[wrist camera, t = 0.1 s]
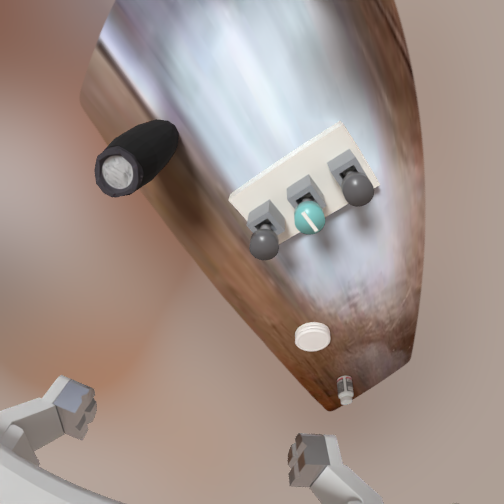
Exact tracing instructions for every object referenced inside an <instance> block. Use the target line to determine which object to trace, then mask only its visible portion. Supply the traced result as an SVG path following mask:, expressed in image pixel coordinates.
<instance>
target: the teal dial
mask: <svg viewBox="0 0 504 504" xmlns="http://www.w3.org/2000/svg"><path fill="white" fill-rule="evenodd" d="M294 221H295V226H296V228H297V229H298V230H299V231H300V232H301V233H304V234H315V233H317V232H319V231H320V230H321V229H322V228H323V227H324V224H325V217H324V213H323V209H322V207H321V206H320V205H319V204H318V203H316V202H314V201H312V200H311V199H309V198H305V199H303V200H302V202H301V203H300V204H299V205H298V206H297V207H296V209H295V211H294Z"/></svg>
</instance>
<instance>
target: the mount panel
mask: <svg viewBox="0 0 504 504" xmlns="http://www.w3.org/2000/svg"><path fill="white" fill-rule="evenodd" d="M349 171H353V172H361V173H363V174H365V175H366V176H367V177H368V179H369V180H370V182H371V183H372V185H373V187H374V188H376V187H377V186H379V185H380V183H379V182H378V180H377V178H376V176H375V175H374V173H373V171H372V169H371V168H370V166H369V164H368V163H367V161H366V159H365V158H364V156H363V154H362V153H361V151H360V149H359V148H358V146H357V145H356V143H355V141H354V140H353V138H352V137H351V135H350V134H349V132H348V131H347V129H346V127H345V126H344V124H343V123H342V122H341V121H339V122H337V123H336V124H334V125H332V126H331V127H329V128H328V129H326V130H325V131H323V132H321V133H320V134H318V135H317V136H315V137H314V138H312V139H310V140H309V141H307V142H306V143H304V144H303V145H301V146H300V147H298V148H297V149H295V150H294V151H292V152H291V153H289V154H288V155H286V156H285V157H283V158H282V159H280V160H279V161H277V162H276V163H274V164H273V165H271V166H270V167H268V168H267V169H265V170H264V171H262V172H261V173H260V174H258V175H257V176H255V177H254V178H252V179H251V180H249V181H248V182H247V183H245V184H244V185H242V186H241V187H239V188H238V189H237V190H235V191H234V192H232V193H231V194H230V197H229V201H230V202H231V203H232V205H233V206H234V207H235V208H236V209H237V210H238V211H239V212H240V214H241V215H242V216H243V217H244V218H245V219H246V220H247V226H248V228H249V229H250V230H251V231H252V232H253V233H254V232H255V231H257V230H259V229H260V227H261V226H262V225H263V224H268V225H270V226H271V230H272V231H274V232H275V233H276V234H277V236H278V239H279V244H281V243H282V242H284V241H286V240H287V239H289V238H291V237H293V236H294V235H296V234H298V233H299V232H300V231H299V230H298V229H297V228H296V226H295V221H294V211H295V209H296V207H297V206H298V205H299V204H300V203H301V202H302V200H303V199H305V198H309V199H311V200H312V201H314V202H316V203H318V204H319V205H320V206H321V207H322V209H323V213H324V217H327V216H328V215H330V214H332V213H333V212H335V211H337V210H339V209H340V208H342V207H344V206H345V205H347V204H349V203H348V202H347V201H346V200H345V197H344V195H343V193H342V190H341V183H342V180H343V179H344V177H345V175H346V173H347V172H349Z"/></svg>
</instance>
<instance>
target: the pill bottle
mask: <svg viewBox="0 0 504 504" xmlns="http://www.w3.org/2000/svg"><path fill="white" fill-rule="evenodd" d="M337 387H338V397H339V398H340V399H341V404H343V405H348V404H350V403H351V402H352V397H353V395H354V393H353V385H352V378H351V377H350V376H341V377H339V378H338V379H337Z"/></svg>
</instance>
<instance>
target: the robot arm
mask: <svg viewBox="0 0 504 504" xmlns="http://www.w3.org/2000/svg"><path fill="white" fill-rule="evenodd" d="M94 396H95V391H94V389H93V388H91V387H88V386H86V385H84V384H81V383H79V382H77V381H74V380H72V379H70V378H67V377H65V376H62V375H61V376H59V377H58V378H57V379H56V381H55V382H54V383H53V385H52V386H51V387H50V388H49V390H48V391H47V393H46V394H45V395H44V397H43V398H42V399H41V398H36V399H34V400H31V401H28V402H25V403H22V404H19V405H16V406H13V407H10V408H7V409H4V410H2V411H0V504H125V503H122V502H119V501H116V500H113V499H110V498H108V497H105V496H102V495H100V494H97V493H94V492H92V491H90V490H87V489H84V488H82V487H80V486H78V485H75V484H73V483H71V482H69V481H67V480H64V479H62V478H60V477H58V476H56V475H54V474H52V473H50V472H48V471H46V470H44V469H42V468H41V467H39V464H40V463H39V460H38V459H37V457H36V455H35V453H34V451H36V450H37V449H39V448H41V447H43V446H45V445H46V444H48V443H50V442H52V441H54V440H55V439H57V438H59V437H61V436H62V435H64V433H65V434H68V435H70V436H72V437H75V438H77V439H80V440H83V438H84V437H85V435H86V433H87V431H88V426H87V424H89V423H91V422H92V421H93V419H94V418H95V414H96V411H97V404H96V401H95V400H94V398H93V397H94ZM295 441H296V443H294V444H292V445H291V447H290V449H289V453H288V465H289V467H290V468H291V471H290V472H289V483H290V486H295V487H310V489H311V490H312V492H313V493H314V494H315V496H316V497H317V498H318V500H319V501H320V502H321V503H322V504H384V503H383V500H382V497H381V496H380V495H379V494H378V493H376V492H375V491H374V490H373V489H372V488H371V487H370V486H369V485H367V484H366V483H365V482H364V481H363V480H362V479H361V478H360V477H359V476H357V475H356V474H355V473H354V472H353V471H352V470H351V469H350V468H349V467H348V466H347V465H343V462H342V458H341V454H340V450H339V446H338V442H337V438H336V436H335V435H321V434H302V433H299V434H298V435H297V436H296V438H295ZM453 504H458V503H453Z"/></svg>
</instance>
